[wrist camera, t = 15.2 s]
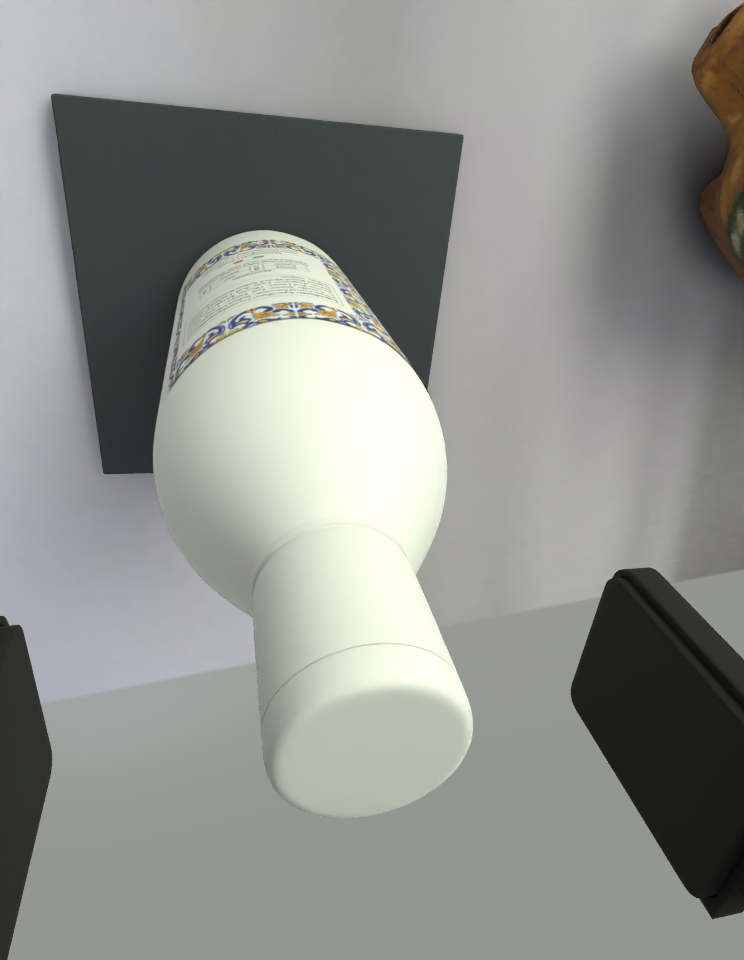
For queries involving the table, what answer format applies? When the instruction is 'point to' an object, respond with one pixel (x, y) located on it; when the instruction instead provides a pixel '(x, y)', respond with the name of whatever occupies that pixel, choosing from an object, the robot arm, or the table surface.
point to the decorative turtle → (740, 108)
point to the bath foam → (313, 519)
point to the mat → (237, 229)
